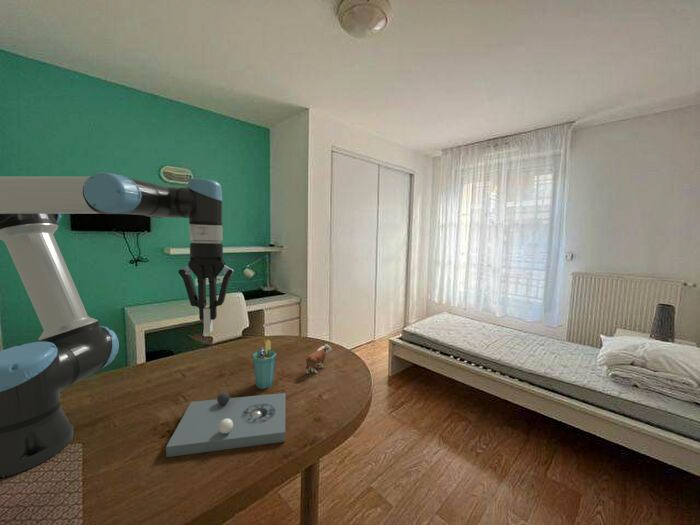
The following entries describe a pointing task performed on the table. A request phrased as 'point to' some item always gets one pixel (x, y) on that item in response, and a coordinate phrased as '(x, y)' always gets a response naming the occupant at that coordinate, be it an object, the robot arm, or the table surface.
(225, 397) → the matte dark gray ball
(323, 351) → the bull figurine
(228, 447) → the plate
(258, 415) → the steel ball
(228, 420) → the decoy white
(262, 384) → the cup
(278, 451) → the table surface
